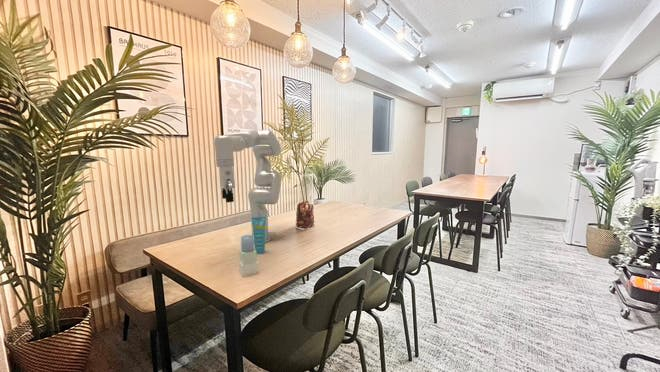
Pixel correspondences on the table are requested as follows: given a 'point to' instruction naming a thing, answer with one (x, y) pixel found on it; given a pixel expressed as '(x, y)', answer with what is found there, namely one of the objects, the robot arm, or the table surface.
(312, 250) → the table surface
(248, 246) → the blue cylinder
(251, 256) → the block top
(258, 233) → the tube
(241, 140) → the robot arm
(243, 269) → the block base
